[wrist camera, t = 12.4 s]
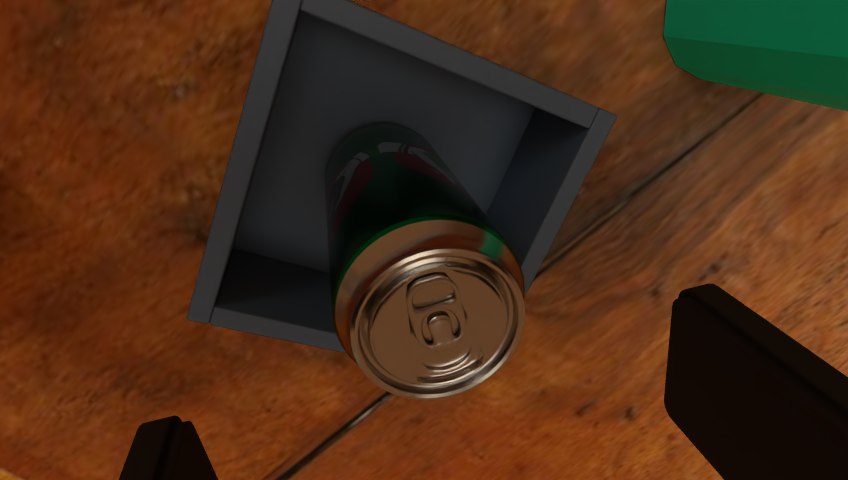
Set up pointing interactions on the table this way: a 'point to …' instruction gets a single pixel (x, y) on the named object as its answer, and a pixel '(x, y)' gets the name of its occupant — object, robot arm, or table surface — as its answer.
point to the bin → (359, 106)
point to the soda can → (416, 268)
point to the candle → (764, 45)
